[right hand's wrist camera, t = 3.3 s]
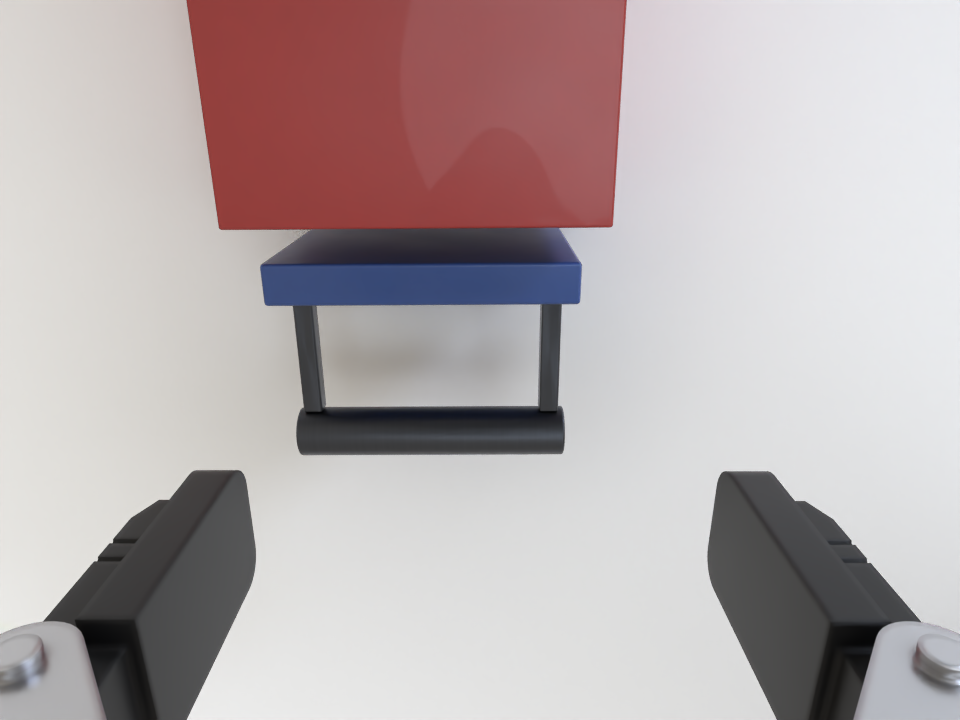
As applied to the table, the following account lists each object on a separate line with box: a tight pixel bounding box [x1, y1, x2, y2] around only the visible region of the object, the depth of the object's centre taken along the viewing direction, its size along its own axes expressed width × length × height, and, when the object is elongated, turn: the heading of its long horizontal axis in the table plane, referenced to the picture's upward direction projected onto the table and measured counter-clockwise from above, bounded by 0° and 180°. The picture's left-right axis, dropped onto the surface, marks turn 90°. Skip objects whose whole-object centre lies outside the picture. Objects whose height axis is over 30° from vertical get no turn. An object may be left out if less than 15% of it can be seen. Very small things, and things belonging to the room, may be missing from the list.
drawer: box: [260, 228, 582, 455], centre depth 20 cm, size 23×9×6 cm, turn 0°
